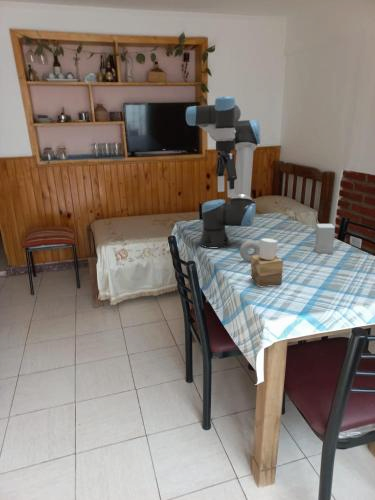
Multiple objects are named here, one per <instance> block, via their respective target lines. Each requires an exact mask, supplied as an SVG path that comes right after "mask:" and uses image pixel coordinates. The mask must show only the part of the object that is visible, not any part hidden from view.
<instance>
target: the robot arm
mask: <svg viewBox="0 0 375 500" xmlns="http://www.w3.org/2000/svg"><path fill="white" fill-rule="evenodd" d="M241 116H242V111H241V108H240V107H239V106H238V105H236V99H235V96H230V95H229V96H219V97H216V98H215V100H214V104H211V105H210V104H209V105H194V106H193V105H192V106H188V107H186V110H185V121H186V123H187V125H188V126H192V127H195V126H197V127H199V128H200V129H202V130H204V131H205V133H208V136H209V137H210V138H211V139H212V140H213V141H215V151H217V159H216V166H215V167H216V168H215V174H216V176H217V193H221V192H225V176H227V179H226V181H227V198H230V199H229V202H226V200H225V199H221V198H220V199H213V200H207V201H206V202H203V204H202V212H201V213H202V232H201V237H200V239H199V244H201V245H203V246H206V247H223V248H225V247H224V246H226V247H228V246H229V245H228V244H229V242H230V241H229V237H228V234H227V231H226V227H242V228H243V227H251V226H252V225H253V224H254V221H255V217H256V216H255V215H256V209H257V207H256V203H254V199H253V198H252V197H251V193H252V191H251V190H252V180H253V179H252V177H253V162H254V151H255V150H256V149H257V148H258V145H259V144H261V129H260V124H259V121H257V120H256V119H247V120H240V119H241ZM235 150H236V152H235V154H234V153H232V151H235ZM225 171H226V174H225ZM201 245H200V246H201ZM227 245H228V246H227Z"/></svg>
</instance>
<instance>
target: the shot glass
mask: <svg viewBox="0 0 375 500" xmlns="http://www.w3.org/2000/svg"><path fill="white" fill-rule="evenodd" d="M259 244H260V256H259V257H260V258H262V259H267V260H272V259H274V257H275V256H276V252H277V248H278V244H279V240H278V239H275V238H272V237H271V238H269V237H262V238H260V239H259Z"/></svg>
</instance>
